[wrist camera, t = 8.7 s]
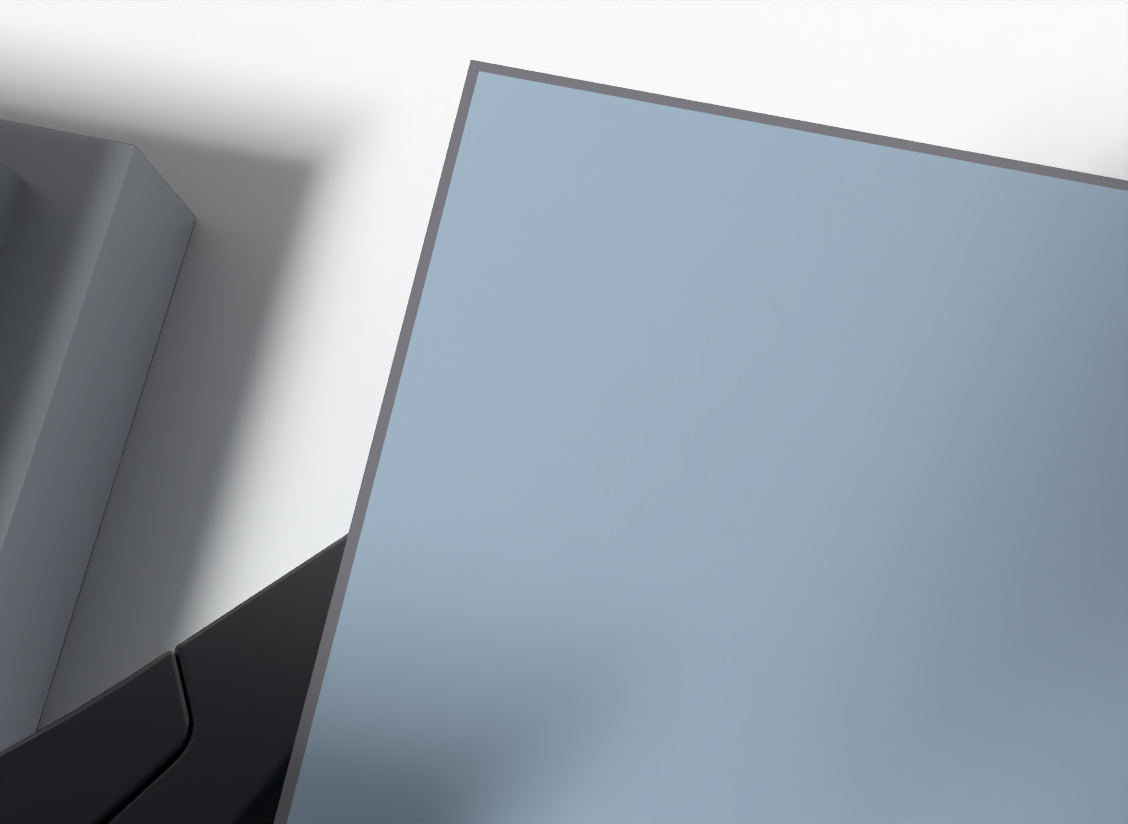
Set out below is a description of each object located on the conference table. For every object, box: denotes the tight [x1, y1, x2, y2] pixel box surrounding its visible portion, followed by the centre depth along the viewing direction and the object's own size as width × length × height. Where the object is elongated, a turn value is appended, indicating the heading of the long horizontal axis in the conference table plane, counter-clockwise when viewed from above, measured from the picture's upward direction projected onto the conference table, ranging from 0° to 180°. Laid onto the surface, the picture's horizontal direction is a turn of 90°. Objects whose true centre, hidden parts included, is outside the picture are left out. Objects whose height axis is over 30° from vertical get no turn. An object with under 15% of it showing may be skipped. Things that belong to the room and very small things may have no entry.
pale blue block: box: [274, 60, 1128, 824], centre depth 9 cm, size 5×6×10 cm
